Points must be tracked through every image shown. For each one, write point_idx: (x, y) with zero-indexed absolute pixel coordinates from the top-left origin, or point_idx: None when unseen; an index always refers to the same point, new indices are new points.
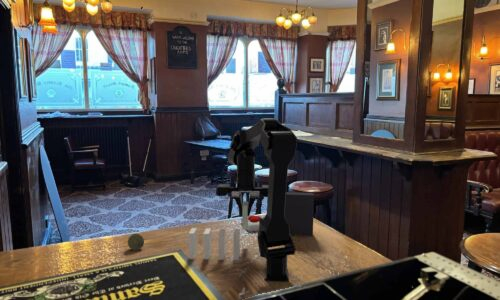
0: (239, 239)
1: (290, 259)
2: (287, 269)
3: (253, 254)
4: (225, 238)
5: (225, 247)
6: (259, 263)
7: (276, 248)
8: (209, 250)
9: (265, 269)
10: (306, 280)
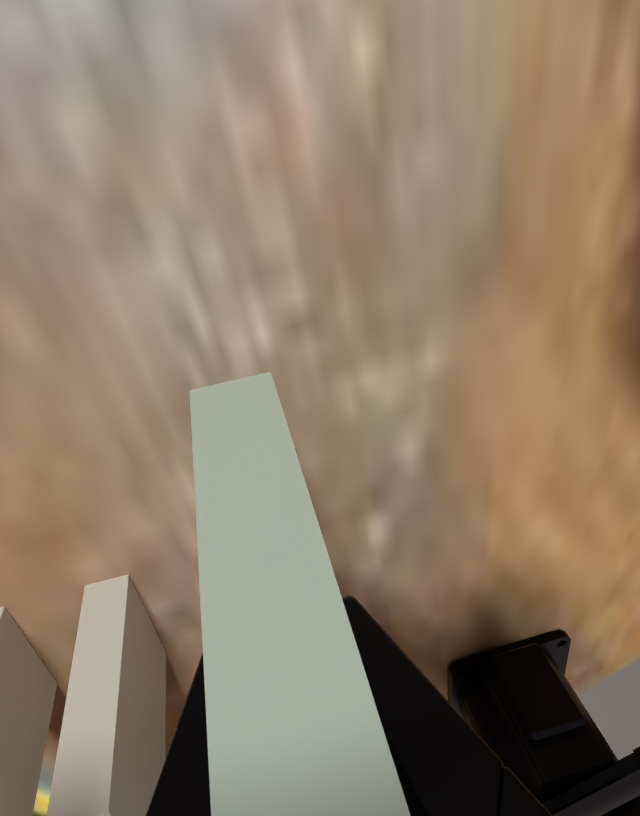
0: None
1: (606, 505)
2: (568, 642)
3: (354, 520)
4: (122, 710)
5: (128, 629)
6: (411, 611)
7: (584, 801)
8: (32, 721)
9: (455, 680)
10: (629, 660)
